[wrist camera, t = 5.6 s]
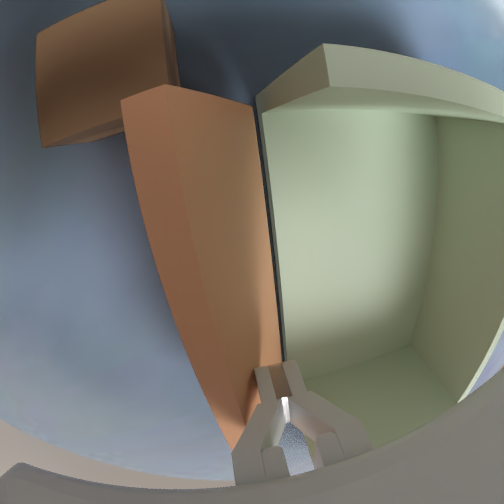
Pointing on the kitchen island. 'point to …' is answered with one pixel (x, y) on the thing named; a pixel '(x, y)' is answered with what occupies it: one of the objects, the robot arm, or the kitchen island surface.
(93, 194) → the kitchen island surface
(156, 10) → the walnut block
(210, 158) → the board
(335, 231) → the box
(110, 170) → the kitchen island surface
